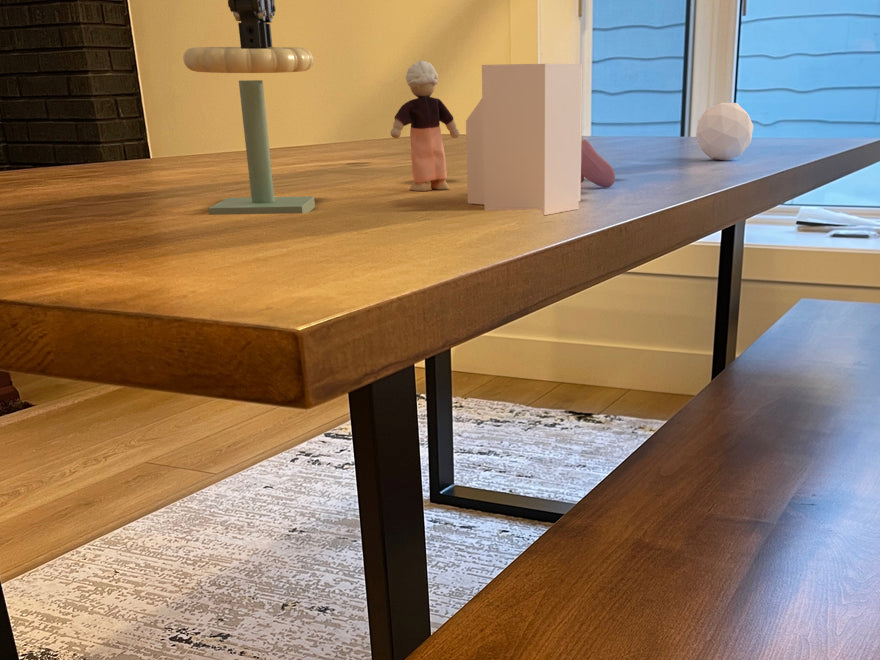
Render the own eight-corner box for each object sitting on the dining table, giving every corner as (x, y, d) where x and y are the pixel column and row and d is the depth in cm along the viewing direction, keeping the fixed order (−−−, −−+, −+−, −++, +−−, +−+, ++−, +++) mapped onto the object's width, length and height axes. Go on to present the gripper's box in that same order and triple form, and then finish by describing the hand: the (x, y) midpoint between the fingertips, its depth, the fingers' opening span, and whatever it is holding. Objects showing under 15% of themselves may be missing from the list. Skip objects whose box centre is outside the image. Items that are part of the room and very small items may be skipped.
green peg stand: (209, 219, 86) (191, 80, 82) (229, 208, 93) (213, 80, 89) (303, 218, 86) (290, 79, 82) (315, 207, 94) (304, 79, 89)
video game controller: (543, 195, 115) (519, 138, 111) (574, 175, 116) (551, 118, 112) (588, 204, 107) (563, 143, 103) (621, 182, 108) (598, 120, 104)
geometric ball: (733, 181, 141) (755, 134, 135) (681, 159, 142) (700, 112, 135) (746, 149, 145) (768, 103, 139) (696, 129, 146) (714, 81, 139)
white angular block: (544, 215, 87) (545, 63, 82) (445, 206, 93) (440, 65, 88) (609, 203, 94) (613, 64, 90) (514, 196, 101) (513, 65, 96)
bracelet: (170, 73, 80) (167, 48, 80) (203, 68, 90) (200, 46, 89) (302, 73, 81) (300, 49, 80) (321, 69, 90) (319, 47, 89)
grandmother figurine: (444, 185, 111) (439, 61, 106) (465, 188, 109) (461, 60, 104) (386, 190, 107) (378, 61, 102) (407, 193, 104) (400, 60, 99)
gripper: (208, -144, 88) (232, 70, 95) (166, -181, 76) (198, 69, 83) (293, -144, 89) (311, 69, 96) (266, -181, 76) (289, 68, 83)
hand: (259, 68), depth 89 cm, fingers closed on bracelet, 2 cm apart
